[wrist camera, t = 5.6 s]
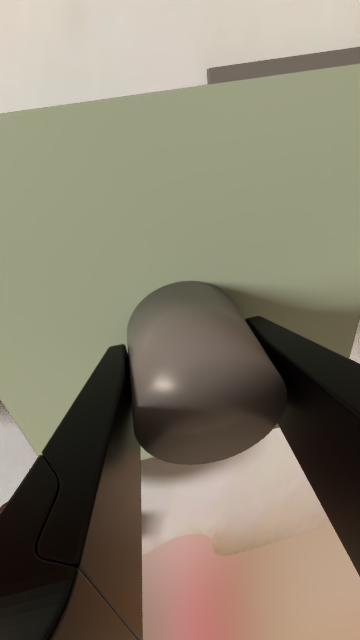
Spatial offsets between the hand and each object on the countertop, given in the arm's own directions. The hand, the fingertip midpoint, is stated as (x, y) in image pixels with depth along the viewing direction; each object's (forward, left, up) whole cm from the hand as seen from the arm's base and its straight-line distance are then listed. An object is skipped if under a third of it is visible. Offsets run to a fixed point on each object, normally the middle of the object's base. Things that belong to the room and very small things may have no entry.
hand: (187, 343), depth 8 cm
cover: (0, 0, -1) cm, 1 cm away
